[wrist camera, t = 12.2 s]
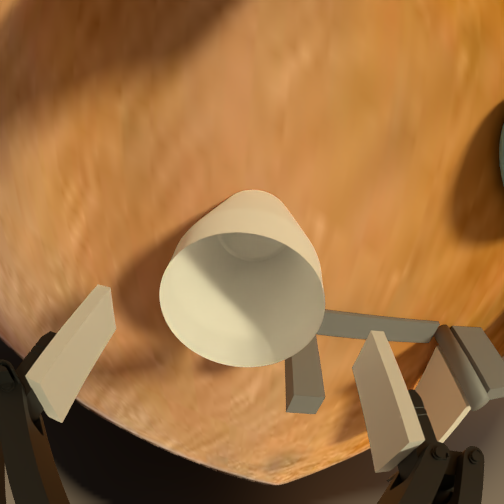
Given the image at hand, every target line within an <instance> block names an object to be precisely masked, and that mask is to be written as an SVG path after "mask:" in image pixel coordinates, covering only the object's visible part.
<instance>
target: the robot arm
mask: <svg viewBox="0 0 504 504" xmlns="http://www.w3.org/2000/svg"><path fill="white" fill-rule="evenodd" d="M115 330H116V325H115V318H114V311H113V304H112V296H111V288H110V287H106V286H102V285H97V286H96V287H95V288H94V290H93V291H92V292H91V293H90V294H89V295H88V296H87V298H86V299H85V300H84V301H83V302H82V303H81V305H80V306H79V307H78V308H77V309H76V311H75V312H74V313H73V314H72V315H71V317H70V318H69V319H68V320H67V322H66V323H65V324H64V325H63V327H62V328H61V329H60V330H59V332H58V333H54V332H51V331H50V332H48V333H47V334H45V335H44V336H42V337H41V338H40V340H39V341H38V342H37V343H36V346H34V347H33V348H32V350H31V352H29V353H28V355H27V356H26V357H25V359H24V360H23V361H22V363H21V364H20V366H19V367H18V368H17V369H16V371H15V369H14V367H13V366H12V364H11V363H10V362H9V361H7V360H0V504H6V497H5V470H4V469H5V468H4V466H6V470H7V475H8V479H9V483H10V486H11V490H12V494H13V497H14V500H15V504H70V503H69V500H68V498H67V496H66V493H65V490H64V488H63V485H62V482H61V480H60V477H59V474H58V471H57V468H56V465H55V462H54V459H53V456H52V452H51V449H50V446H49V442H48V439H47V435H46V431H45V427H44V422H43V418H42V416H41V413H42V411H43V409H44V410H45V412H46V414H47V415H48V416H49V417H50V418H53V419H55V420H57V421H59V422H61V423H62V422H63V420H64V418H65V417H66V415H67V413H68V411H69V409H70V407H71V405H72V403H73V401H74V400H75V398H76V396H77V394H78V393H79V391H80V389H81V387H82V385H83V384H84V382H85V380H86V378H87V377H88V375H89V373H90V372H91V370H92V368H93V366H94V365H95V363H96V361H97V360H98V358H99V356H100V355H101V353H102V351H103V350H104V348H105V346H106V345H107V343H108V341H109V340H110V338H111V337H112V335H113V333H114V332H115ZM352 369H353V373H354V377H355V381H356V385H357V389H358V393H359V397H360V402H361V406H362V410H363V415H364V419H365V424H366V428H367V433H368V438H369V442H370V447H371V452H372V457H373V462H374V468H375V472H385V471H391V470H392V469H393V468H394V467H396V466H397V465H398V469H399V471H398V472H396V473H395V474H394V475H392V476H391V477H390V478H389V479H388V480H387V481H388V482H389V481H390V480H392V481H391V482H390V484H389V486H388V487H387V489H386V490H385V492H384V494H383V495H382V497H381V498H380V500H379V501H378V503H377V504H481V500H482V490H483V476H484V455H483V453H482V451H481V450H480V449H479V448H477V447H475V446H470V447H468V448H467V449H466V450H464V451H463V452H457V451H450V450H449V449H448V447H447V446H446V445H445V444H443V443H441V442H438V441H437V439H436V436H435V434H434V431H433V428H432V425H431V422H430V420H429V417H428V415H427V412H426V409H425V408H424V404H423V401H422V399H421V397H420V396H419V394H418V393H417V392H416V391H415V390H407V387H406V384H405V382H404V379H403V377H402V374H401V372H400V369H399V367H398V364H397V362H396V359H395V357H394V354H393V352H392V350H391V347H390V345H389V343H388V340H387V338H386V336H385V333H384V331H372V330H371V331H370V333H369V335H368V337H367V339H366V341H365V344H364V346H363V348H362V349H361V351H360V353H359V355H358V357H357V359H356V361H355V363H354V365H353V367H352Z"/></svg>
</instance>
